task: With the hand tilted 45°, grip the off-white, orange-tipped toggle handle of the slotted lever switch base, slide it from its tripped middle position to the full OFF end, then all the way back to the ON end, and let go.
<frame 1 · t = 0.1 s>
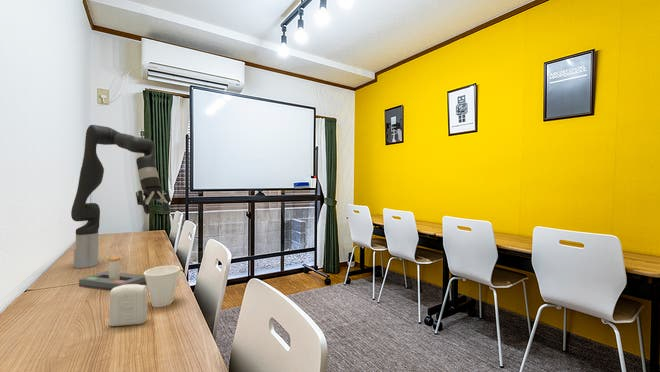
hand: (157, 212, 130), 31 cm above the table, tool tilted 20°, fingers open, 8 cm apart
slotted lever switch base: (114, 284, 127), on the table
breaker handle: (114, 269, 127), point 6 cm above the table, slide at 0.0 cm
cup: (162, 303, 108), on the table
photo printer: (128, 323, 93), on the table
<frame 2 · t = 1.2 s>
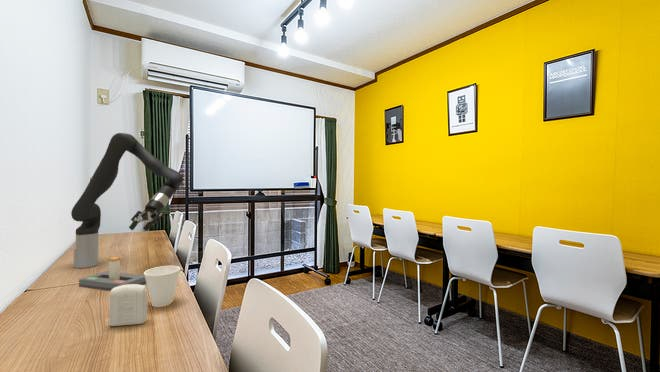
hand: (137, 229, 138), 22 cm above the table, tool tilted 45°, fingers open, 8 cm apart
nothing on the table moved.
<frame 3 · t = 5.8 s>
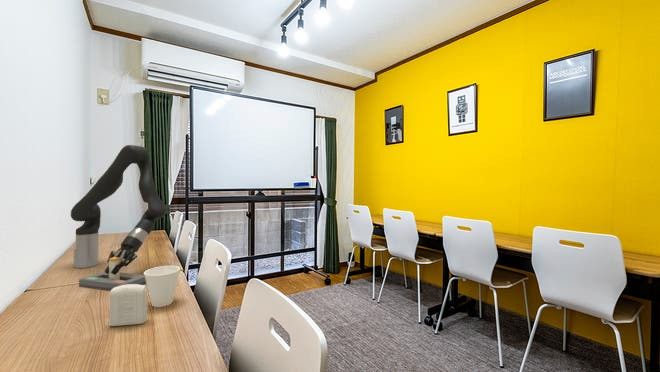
hand: (109, 273, 125), 5 cm above the table, tool tilted 45°, fingers closed on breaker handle, 3 cm apart
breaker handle: (114, 269, 127), point 6 cm above the table, slide at 0.0 cm, touching gripper
everything else where it was.
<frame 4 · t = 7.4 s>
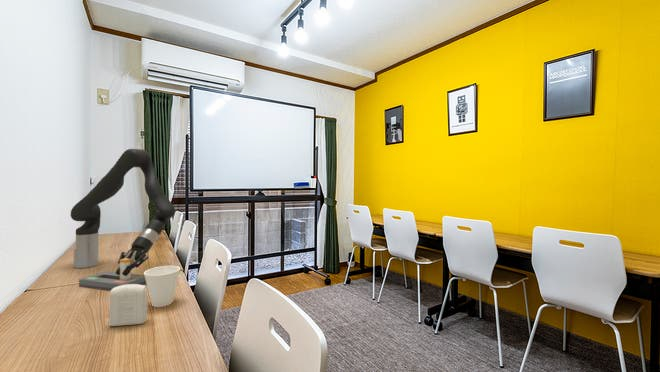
hand: (120, 274, 124), 5 cm above the table, tool tilted 45°, fingers closed on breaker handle, 3 cm apart
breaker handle: (125, 270, 126), point 6 cm above the table, slide at 6.1 cm, touching gripper
everything else where it was.
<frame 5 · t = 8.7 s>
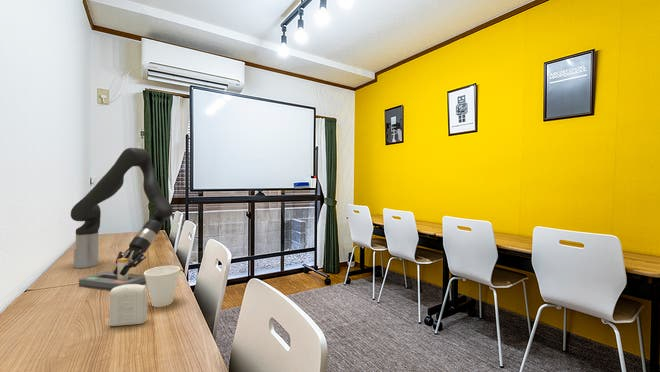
hand: (118, 274, 124), 5 cm above the table, tool tilted 45°, fingers closed on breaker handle, 3 cm apart
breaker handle: (122, 270, 126), point 6 cm above the table, slide at 4.7 cm, touching gripper
everything else where it was.
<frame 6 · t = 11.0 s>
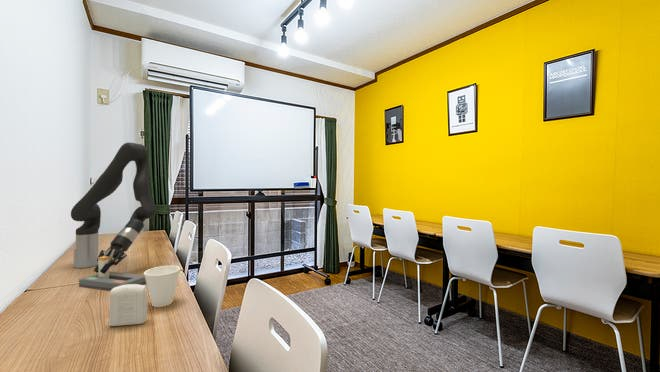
hand: (99, 272, 127), 5 cm above the table, tool tilted 45°, fingers closed on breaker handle, 3 cm apart
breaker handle: (103, 268, 129), point 6 cm above the table, slide at -6.1 cm, touching gripper
everything else where it was.
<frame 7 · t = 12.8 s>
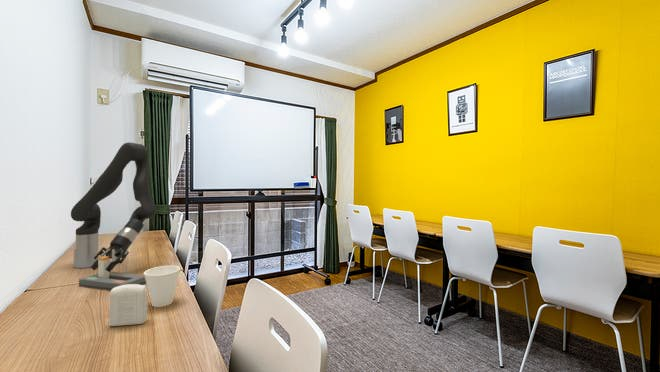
hand: (100, 270, 127), 6 cm above the table, tool tilted 45°, fingers open, 8 cm apart
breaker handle: (103, 268, 129), point 6 cm above the table, slide at -6.0 cm
everything else where it was.
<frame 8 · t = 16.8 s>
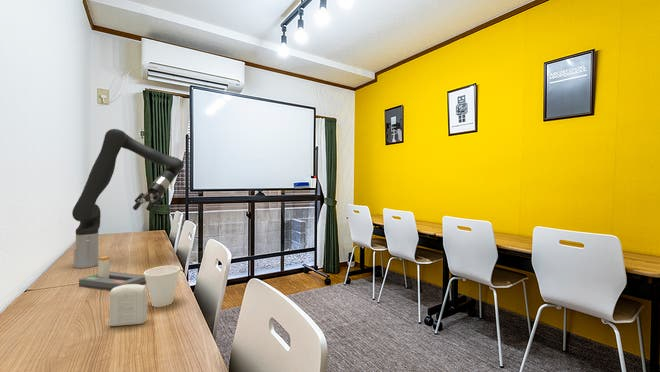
hand: (140, 209, 149), 31 cm above the table, tool tilted 45°, fingers open, 8 cm apart
nothing on the table moved.
at the end: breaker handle slide at -6.0 cm; the gripper is holding nothing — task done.
